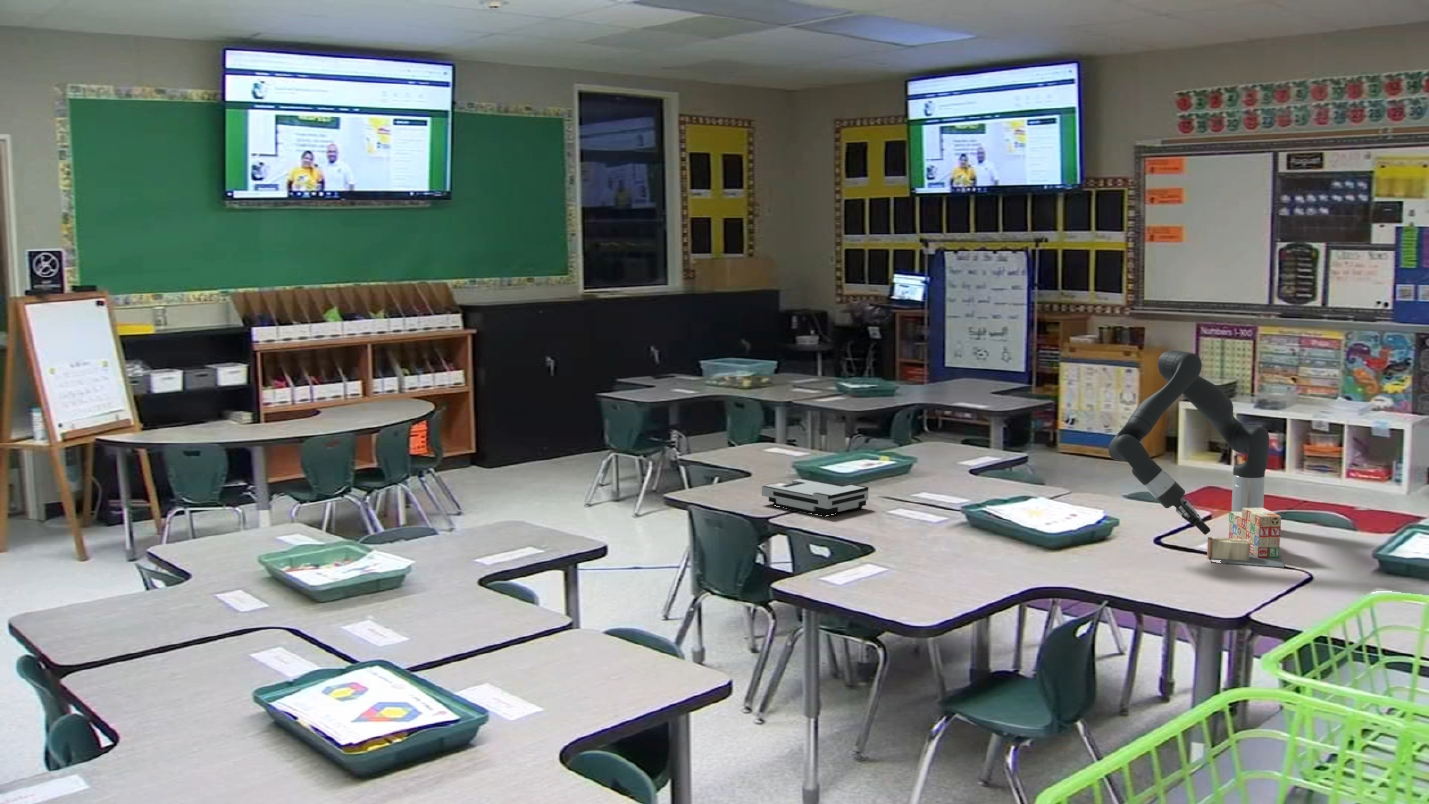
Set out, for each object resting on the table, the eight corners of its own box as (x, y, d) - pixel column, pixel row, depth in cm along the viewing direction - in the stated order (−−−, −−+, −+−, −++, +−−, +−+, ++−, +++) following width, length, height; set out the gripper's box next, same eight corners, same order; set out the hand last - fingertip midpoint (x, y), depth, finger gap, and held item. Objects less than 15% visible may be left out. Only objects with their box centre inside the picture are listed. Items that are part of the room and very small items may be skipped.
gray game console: (802, 496, 446) (802, 475, 445) (868, 510, 422) (868, 487, 421) (762, 505, 432) (761, 483, 431) (828, 519, 408) (827, 495, 407)
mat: (1209, 551, 357) (1209, 550, 357) (1280, 556, 350) (1280, 555, 350) (1211, 562, 345) (1211, 561, 345) (1284, 568, 338) (1284, 566, 338)
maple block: (1207, 537, 353) (1248, 539, 349) (1207, 553, 353) (1248, 556, 350) (1208, 541, 348) (1249, 543, 344) (1207, 557, 349) (1249, 560, 345)
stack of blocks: (1227, 541, 369) (1229, 501, 368) (1248, 541, 369) (1250, 501, 368) (1258, 557, 348) (1259, 515, 346) (1279, 557, 348) (1281, 515, 346)
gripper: (1174, 484, 346) (1219, 529, 343) (1174, 476, 358) (1217, 519, 355) (1154, 501, 348) (1198, 546, 345) (1154, 492, 360) (1197, 535, 358)
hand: (1207, 532), depth 350 cm, fingers closed
